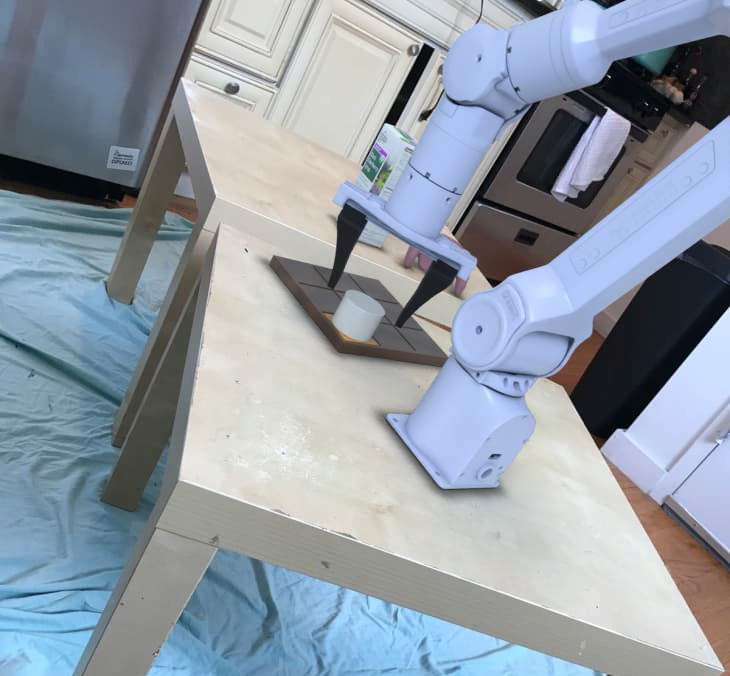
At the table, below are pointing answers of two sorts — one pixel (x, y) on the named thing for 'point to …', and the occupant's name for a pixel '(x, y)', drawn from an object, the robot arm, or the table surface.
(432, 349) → the board
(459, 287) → the video game controller
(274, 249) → the table surface
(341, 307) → the white squat cylinder
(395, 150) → the syrup box
